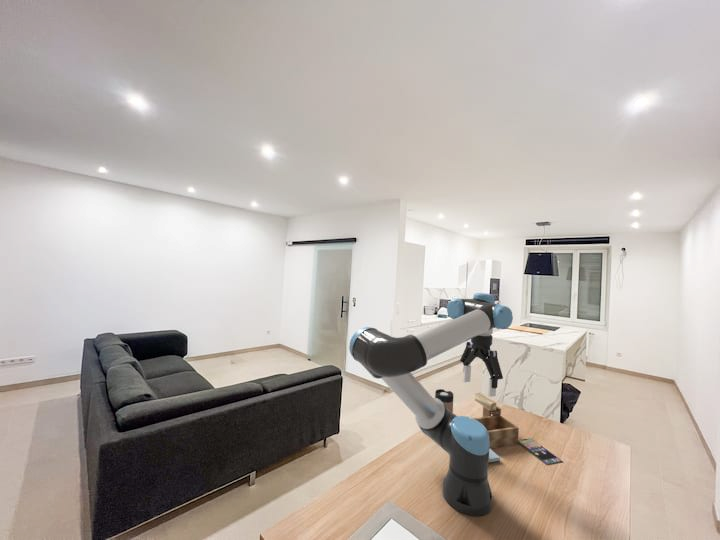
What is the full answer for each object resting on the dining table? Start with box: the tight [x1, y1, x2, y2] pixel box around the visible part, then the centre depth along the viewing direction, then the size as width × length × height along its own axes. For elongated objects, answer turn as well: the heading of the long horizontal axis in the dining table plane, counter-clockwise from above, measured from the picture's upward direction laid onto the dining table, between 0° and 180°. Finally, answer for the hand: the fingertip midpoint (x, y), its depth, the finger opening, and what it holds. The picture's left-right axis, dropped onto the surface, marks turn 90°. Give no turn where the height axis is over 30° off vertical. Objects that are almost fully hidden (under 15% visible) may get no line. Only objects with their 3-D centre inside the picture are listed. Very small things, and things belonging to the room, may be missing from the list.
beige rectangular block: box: [474, 392, 497, 411], centre depth 143 cm, size 3×11×3 cm, turn 17°
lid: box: [489, 449, 501, 463], centre depth 117 cm, size 16×11×8 cm
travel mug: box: [434, 388, 454, 414], centre depth 128 cm, size 8×8×20 cm
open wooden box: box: [473, 405, 520, 450], centre depth 132 cm, size 17×15×10 cm
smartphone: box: [517, 437, 564, 466], centre depth 122 cm, size 8×15×1 cm, turn 16°
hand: (478, 388), depth 116 cm, fingers open, 13 cm apart
